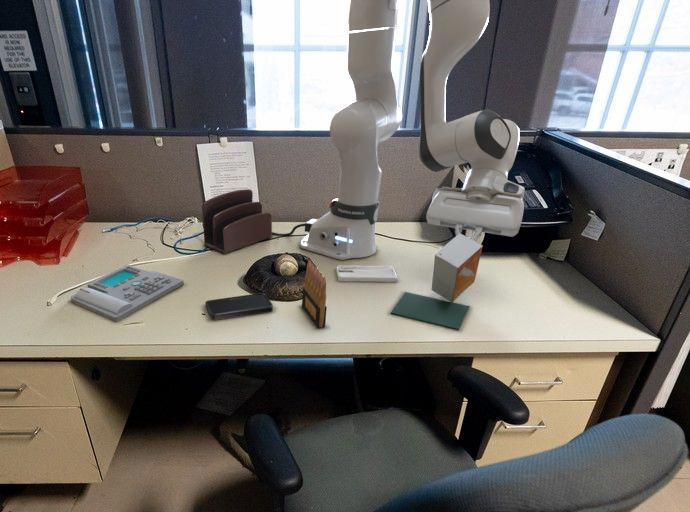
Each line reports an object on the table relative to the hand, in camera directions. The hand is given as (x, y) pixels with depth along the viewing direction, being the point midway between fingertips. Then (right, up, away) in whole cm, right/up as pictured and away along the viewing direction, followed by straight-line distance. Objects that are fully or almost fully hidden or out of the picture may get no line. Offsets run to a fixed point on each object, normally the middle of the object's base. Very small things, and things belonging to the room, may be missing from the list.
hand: (463, 245), depth 108 cm
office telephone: (-81, -9, +12) cm, 82 cm away
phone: (-52, -14, +4) cm, 54 cm away
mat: (-7, -15, +1) cm, 17 cm away
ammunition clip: (-35, -17, 0) cm, 38 cm away
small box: (0, -8, +6) cm, 10 cm away
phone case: (-18, -4, +17) cm, 25 cm away
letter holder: (-52, +12, +39) cm, 66 cm away
